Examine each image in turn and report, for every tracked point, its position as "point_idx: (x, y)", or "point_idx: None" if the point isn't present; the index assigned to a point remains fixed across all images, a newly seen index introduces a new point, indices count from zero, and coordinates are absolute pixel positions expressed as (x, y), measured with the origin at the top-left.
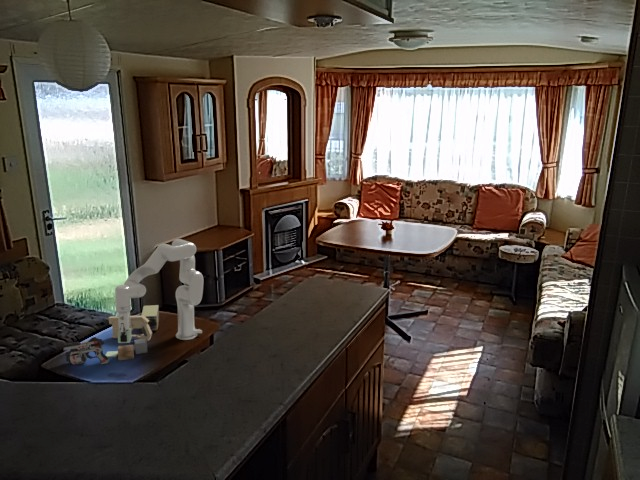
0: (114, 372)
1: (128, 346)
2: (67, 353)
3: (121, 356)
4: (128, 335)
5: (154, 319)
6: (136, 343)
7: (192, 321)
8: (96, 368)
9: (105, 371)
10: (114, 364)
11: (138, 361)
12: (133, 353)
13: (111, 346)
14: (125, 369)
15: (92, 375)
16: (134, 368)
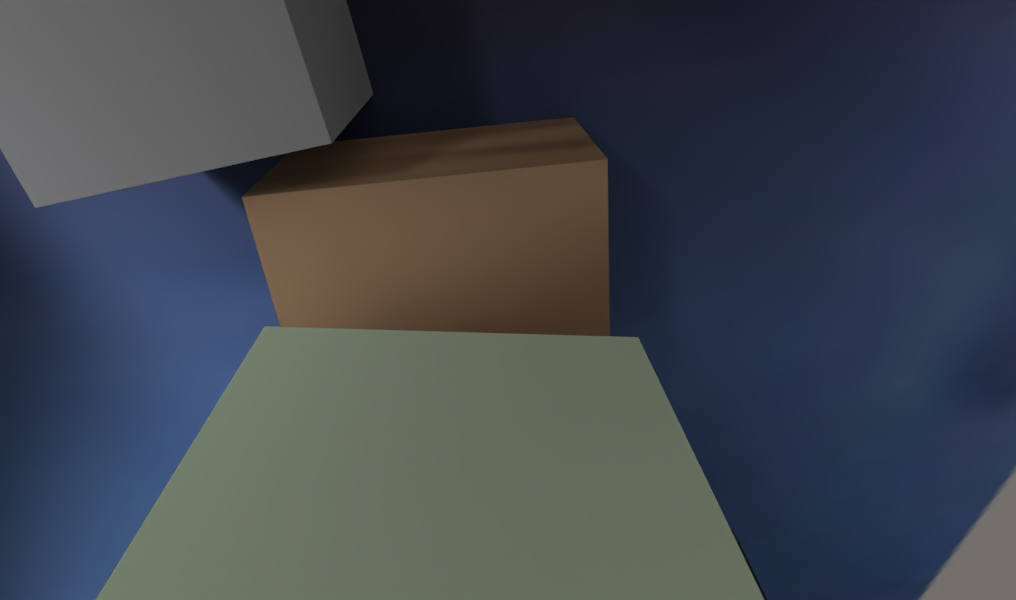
0: (960, 349)
1: (356, 293)
2: None
3: None
4: (729, 574)
5: None
6: (282, 122)
7: None
8: (744, 542)
9: (873, 449)
10: (705, 381)
11: (724, 17)
12: (594, 146)
13: (71, 494)
14: (944, 216)
15: (908, 547)
16: (985, 71)
